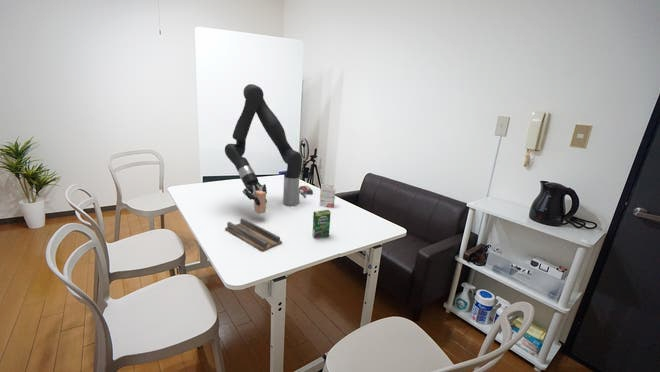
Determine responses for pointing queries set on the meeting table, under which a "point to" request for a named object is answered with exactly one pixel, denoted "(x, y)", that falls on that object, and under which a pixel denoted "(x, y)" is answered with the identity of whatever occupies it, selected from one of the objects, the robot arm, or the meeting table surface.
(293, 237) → the meeting table surface
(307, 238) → the meeting table surface
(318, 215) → the coffee box
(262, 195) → the light orange-brown block
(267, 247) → the door track
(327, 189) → the ink cartridge box
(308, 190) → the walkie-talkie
